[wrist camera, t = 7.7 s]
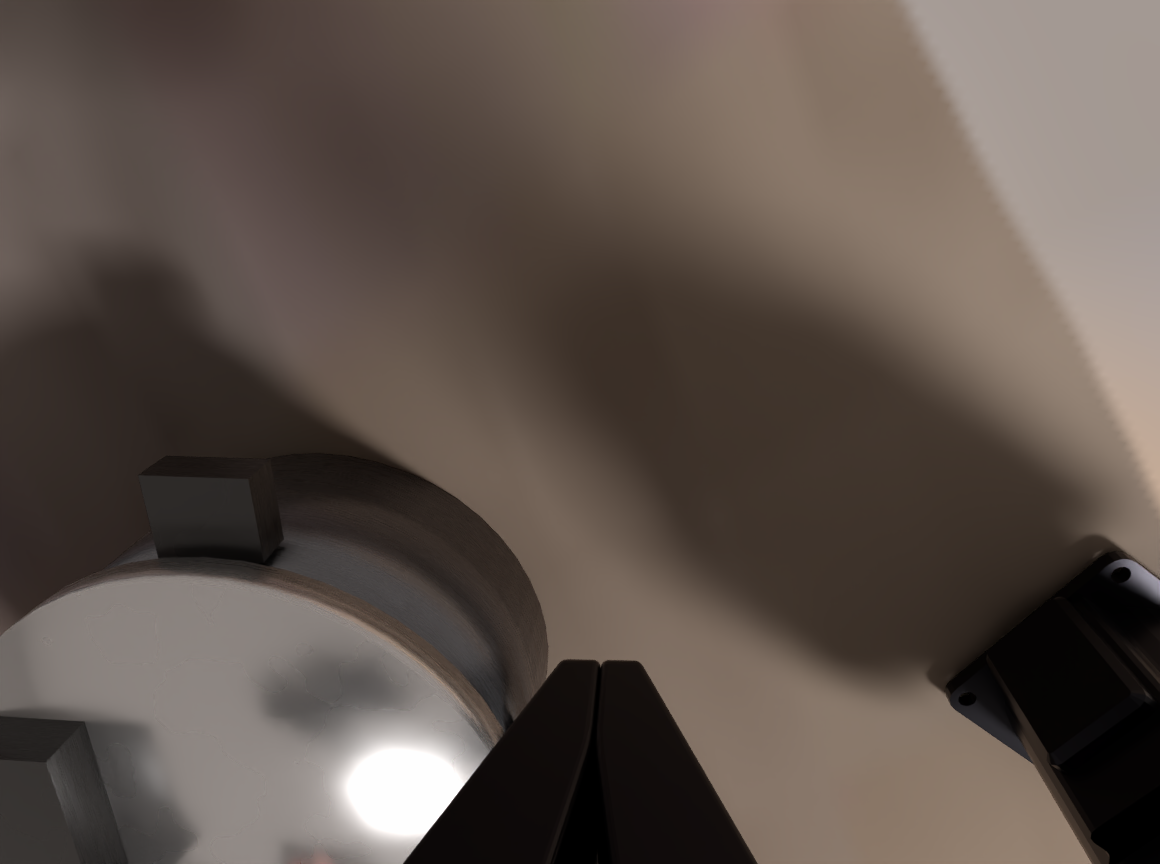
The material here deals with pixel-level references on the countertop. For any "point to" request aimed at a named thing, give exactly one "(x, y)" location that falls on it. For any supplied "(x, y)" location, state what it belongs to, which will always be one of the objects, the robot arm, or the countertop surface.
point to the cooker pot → (362, 553)
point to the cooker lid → (226, 722)
